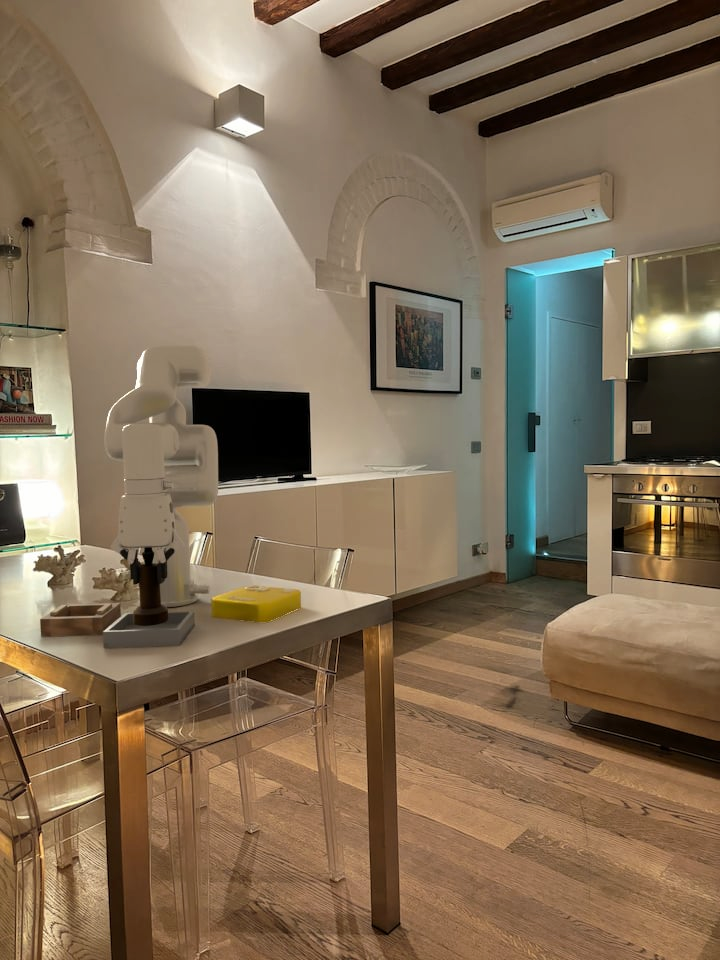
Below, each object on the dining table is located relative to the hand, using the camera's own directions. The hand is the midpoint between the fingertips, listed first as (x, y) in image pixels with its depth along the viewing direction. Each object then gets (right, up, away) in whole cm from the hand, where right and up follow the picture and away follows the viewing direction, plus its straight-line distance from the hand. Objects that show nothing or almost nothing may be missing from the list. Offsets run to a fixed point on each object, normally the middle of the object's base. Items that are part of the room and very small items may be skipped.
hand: (149, 581), depth 141 cm
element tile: (+18, -10, +18) cm, 27 cm away
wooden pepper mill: (0, -8, +1) cm, 8 cm away
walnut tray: (-16, -10, +8) cm, 21 cm away
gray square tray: (0, -11, +1) cm, 11 cm away
